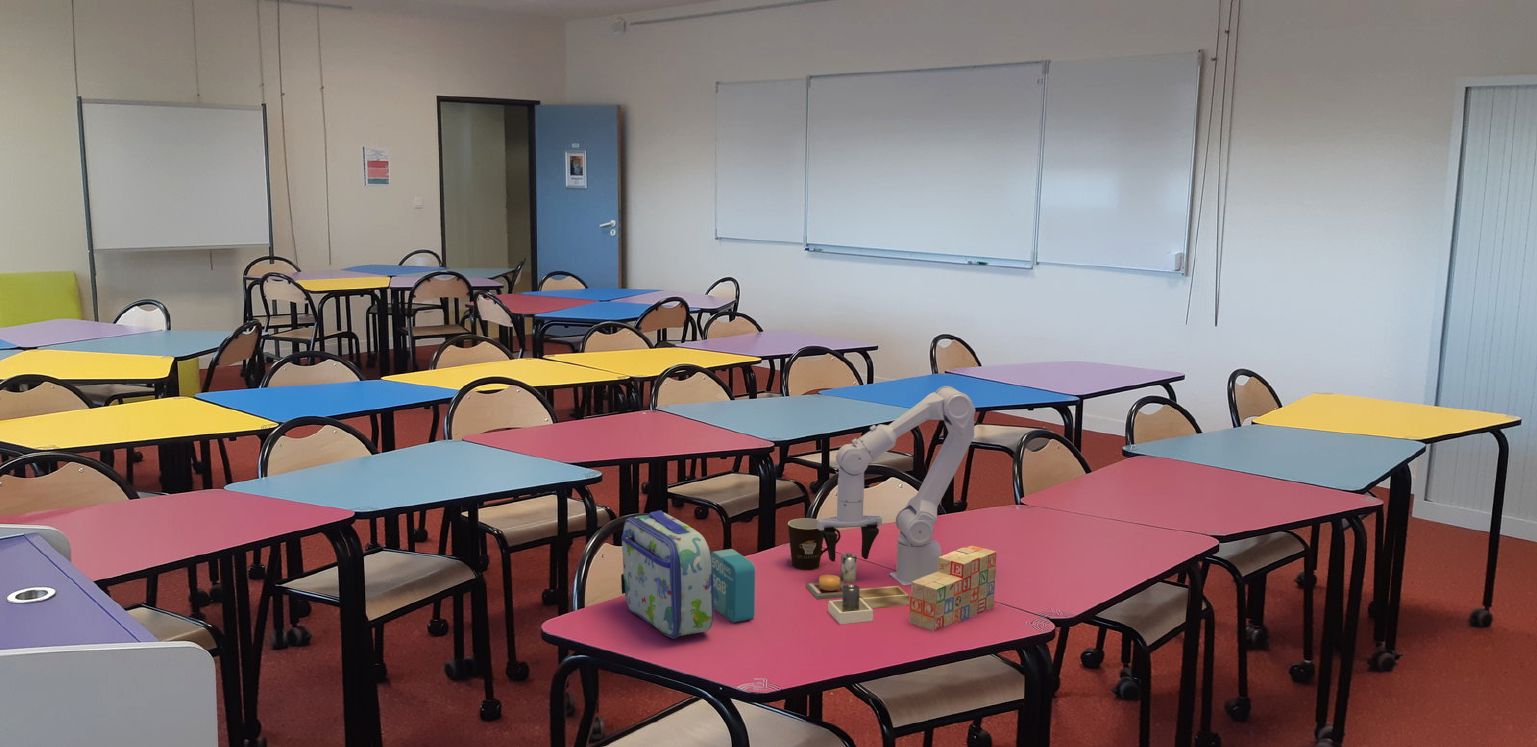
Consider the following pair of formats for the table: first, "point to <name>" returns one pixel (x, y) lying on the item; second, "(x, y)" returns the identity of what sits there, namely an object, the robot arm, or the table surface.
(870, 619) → the white square tray
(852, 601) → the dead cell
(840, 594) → the grey square frame
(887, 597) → the trough
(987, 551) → the stack of blocks
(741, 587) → the data package
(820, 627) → the table surface
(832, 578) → the button
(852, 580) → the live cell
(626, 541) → the lunch box
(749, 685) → the table surface
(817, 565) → the coffee mug
